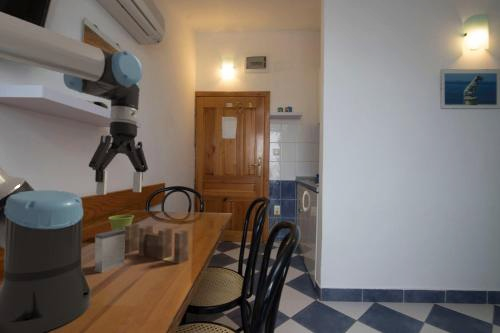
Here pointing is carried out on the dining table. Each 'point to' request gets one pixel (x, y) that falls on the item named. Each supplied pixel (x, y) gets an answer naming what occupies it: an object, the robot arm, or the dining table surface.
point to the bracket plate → (109, 250)
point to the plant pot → (120, 221)
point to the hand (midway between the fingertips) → (120, 193)
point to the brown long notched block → (156, 243)
